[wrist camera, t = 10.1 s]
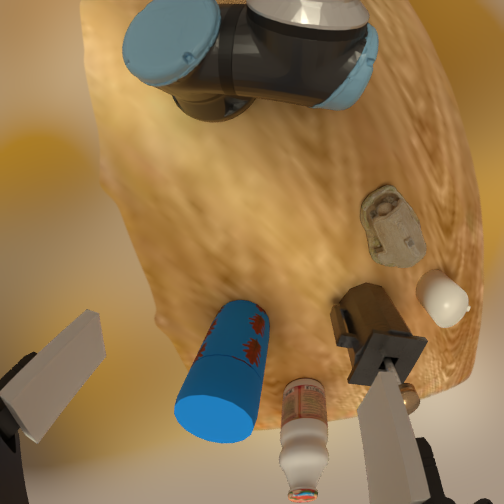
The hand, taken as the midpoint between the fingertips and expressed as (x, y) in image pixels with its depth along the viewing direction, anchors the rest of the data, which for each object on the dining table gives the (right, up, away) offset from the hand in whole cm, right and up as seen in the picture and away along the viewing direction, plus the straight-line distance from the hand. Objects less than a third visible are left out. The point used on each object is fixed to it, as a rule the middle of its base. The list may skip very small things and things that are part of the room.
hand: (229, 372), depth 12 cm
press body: (+21, -5, +39) cm, 45 cm away
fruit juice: (+13, -26, +47) cm, 56 cm away
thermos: (-1, -9, +43) cm, 44 cm away
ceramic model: (+25, +10, +34) cm, 43 cm away
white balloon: (+37, -2, +36) cm, 52 cm away
